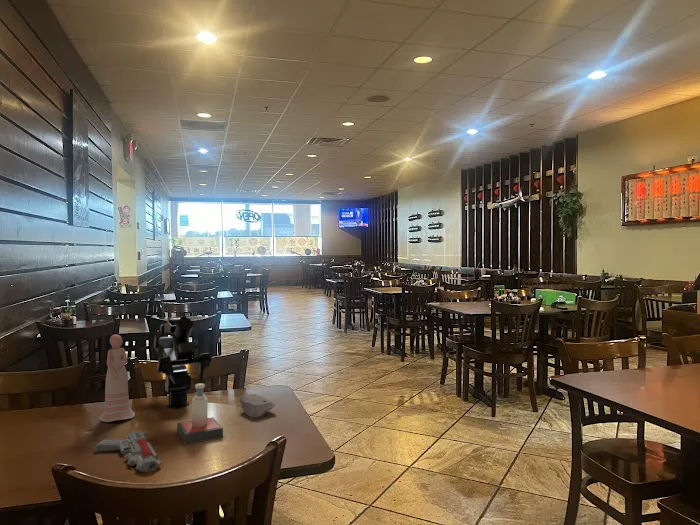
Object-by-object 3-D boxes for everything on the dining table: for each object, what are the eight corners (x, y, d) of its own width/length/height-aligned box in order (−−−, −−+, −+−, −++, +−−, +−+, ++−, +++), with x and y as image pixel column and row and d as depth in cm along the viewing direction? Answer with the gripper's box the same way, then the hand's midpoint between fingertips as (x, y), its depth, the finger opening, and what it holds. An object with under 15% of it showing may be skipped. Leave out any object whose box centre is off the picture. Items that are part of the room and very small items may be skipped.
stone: (277, 413, 192) (277, 398, 192) (256, 420, 185) (256, 403, 185) (255, 406, 201) (255, 391, 201) (235, 412, 194) (234, 396, 194)
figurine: (114, 410, 194) (114, 331, 193) (144, 412, 191) (143, 332, 190) (89, 421, 181) (88, 337, 180) (121, 424, 179) (120, 339, 177)
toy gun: (104, 472, 136) (163, 458, 144) (93, 439, 159) (145, 428, 167) (104, 485, 137) (163, 470, 144) (94, 450, 159) (145, 438, 167)
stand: (177, 431, 172) (177, 422, 172) (212, 425, 178) (212, 416, 178) (185, 444, 162) (185, 434, 162) (223, 437, 168) (223, 427, 168)
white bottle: (189, 427, 168) (189, 386, 167) (195, 422, 173) (195, 382, 172) (203, 427, 168) (204, 387, 167) (209, 422, 172) (209, 383, 172)
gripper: (158, 335, 183) (164, 373, 174) (210, 331, 193) (218, 366, 184) (154, 353, 191) (160, 390, 181) (205, 348, 200) (212, 383, 191)
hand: (188, 382), depth 184 cm, fingers open, 9 cm apart
